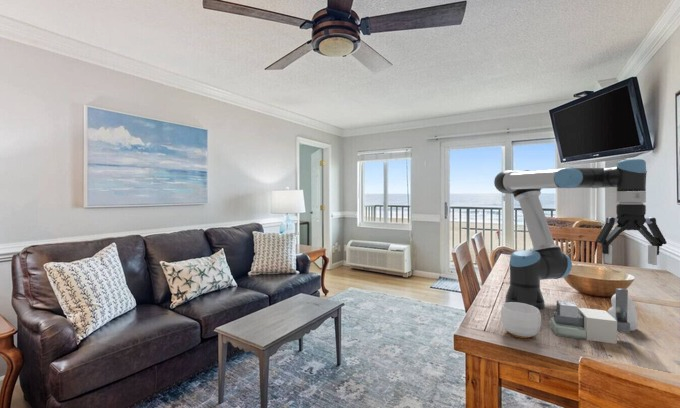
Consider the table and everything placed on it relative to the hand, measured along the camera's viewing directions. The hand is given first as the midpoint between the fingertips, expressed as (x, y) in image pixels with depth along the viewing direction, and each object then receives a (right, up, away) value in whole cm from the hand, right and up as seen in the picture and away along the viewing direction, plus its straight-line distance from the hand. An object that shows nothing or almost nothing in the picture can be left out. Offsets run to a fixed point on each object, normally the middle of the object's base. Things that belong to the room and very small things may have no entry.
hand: (629, 263), depth 109 cm
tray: (-21, -25, +2) cm, 33 cm away
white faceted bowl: (-39, -25, 0) cm, 47 cm away
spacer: (-21, -18, +1) cm, 28 cm away
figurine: (+3, -25, +5) cm, 25 cm away
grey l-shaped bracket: (-15, -22, -1) cm, 26 cm away
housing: (-14, -25, -2) cm, 28 cm away
